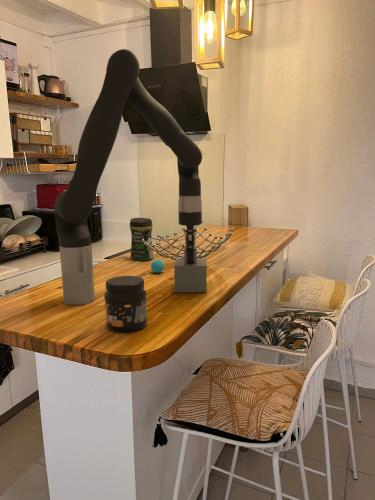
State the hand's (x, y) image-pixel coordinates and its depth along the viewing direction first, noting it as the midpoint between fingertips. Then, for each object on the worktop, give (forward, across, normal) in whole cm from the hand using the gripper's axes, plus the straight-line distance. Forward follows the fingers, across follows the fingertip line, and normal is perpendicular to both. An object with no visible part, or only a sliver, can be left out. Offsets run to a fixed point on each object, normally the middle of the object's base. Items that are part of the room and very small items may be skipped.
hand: (190, 261), depth 130 cm
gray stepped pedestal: (+9, 0, 0) cm, 9 cm away
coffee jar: (+9, -43, -22) cm, 49 cm away
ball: (+7, -20, -13) cm, 25 cm away
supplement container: (+9, +32, -16) cm, 37 cm away
